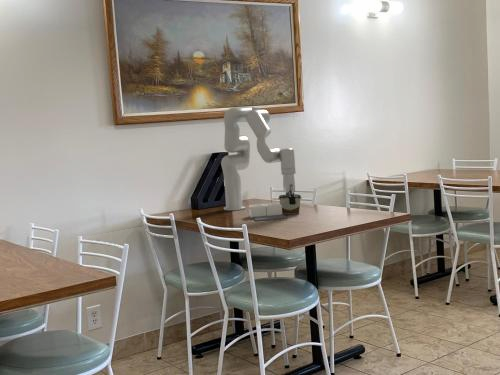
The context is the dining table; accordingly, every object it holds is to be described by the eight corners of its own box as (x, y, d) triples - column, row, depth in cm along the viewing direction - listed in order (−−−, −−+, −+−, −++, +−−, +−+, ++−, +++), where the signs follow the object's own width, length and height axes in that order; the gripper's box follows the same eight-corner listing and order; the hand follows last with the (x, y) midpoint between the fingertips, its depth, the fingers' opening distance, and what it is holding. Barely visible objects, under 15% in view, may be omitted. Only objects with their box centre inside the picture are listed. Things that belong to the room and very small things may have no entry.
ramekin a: (249, 216, 340) (248, 205, 339) (264, 214, 341) (263, 203, 340) (251, 218, 332) (250, 207, 332) (266, 217, 333) (265, 205, 332)
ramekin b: (265, 214, 341) (264, 203, 340) (279, 213, 342) (279, 202, 341) (267, 217, 333) (266, 205, 332) (282, 215, 334) (281, 204, 333)
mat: (252, 217, 334) (252, 216, 334) (282, 215, 336) (282, 213, 336) (255, 221, 322) (255, 220, 322) (286, 218, 324) (286, 217, 324)
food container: (302, 212, 342) (301, 193, 341) (302, 213, 336) (301, 195, 335) (279, 212, 343) (278, 194, 342) (278, 214, 337) (278, 195, 336)
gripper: (278, 171, 345) (281, 202, 347) (284, 173, 328) (286, 205, 330) (292, 169, 346) (294, 200, 348) (298, 171, 329) (301, 204, 331)
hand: (290, 203), depth 339 cm, fingers open, 9 cm apart
